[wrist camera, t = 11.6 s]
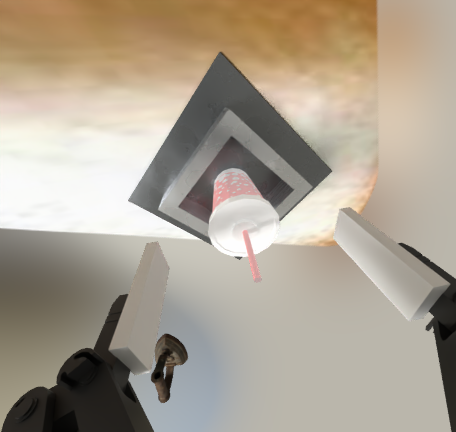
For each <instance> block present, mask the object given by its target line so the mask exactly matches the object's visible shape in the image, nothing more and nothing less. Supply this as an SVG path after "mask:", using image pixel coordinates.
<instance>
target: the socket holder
mask: <svg viewBox="0 0 456 432" xmlns="http://www.w3.org/2000/svg"><path fill="white" fill-rule="evenodd" d="M230 168H236V169H240V170H242V171H244V172H246V174H247V175H248V176H249V178H250V179H251V181H252V182H253V183H254V185H255V186H256V188H257V189H258V191H259V192H260V194H261V195H262V197H263V198H264V199H265V200H267V201H269V203H270V204H271V205H272V207H273V208H274V209H275V211H276V212H277V214H278V215H279V221H281V220H282V219H283V218H284V217H285V216H286V215H287V214H288V213H289V212H290V211H291V210H292V209H293V208H294V207H295V206H296V205H297V204H299V203H300V202H301V201H302V200H303V199H304V198H305V197H306V196H307V195H308V194H309V193H310V192H311V191H312V190H313V189H314V188H315V187H316V186H317V185H318V184H319V183H320V182H322V181H323V180H324V179H325V178H326V177H327V176H328V175H329V174H330V173H331V172H332V171H331V170H330V169H329V168H328V167H327V165H326V164H325V163H324V162H323V161H322V160H321V159H320V158H319V157H318V156H317V155H316V154H315V153H314V152H313V151H312V150H311V148H310V147H309V146H308V145H307V144H306V143H305V142H304V141H303V140H302V139H301V138H300V137H299V136H298V135H297V134H296V133H295V131H294V130H293V129H292V128H291V127H290V126H289V125H288V124H287V123H286V122H285V121H284V120H283V119H282V118H281V117H280V116H279V114H278V113H277V112H276V111H275V110H274V109H273V108H272V107H271V106H270V105H269V104H268V103H267V102H266V101H265V100H264V99H263V97H262V96H261V95H260V94H259V93H258V92H257V91H256V90H255V89H254V88H253V87H252V86H251V85H250V84H249V83H248V82H247V80H246V79H245V78H244V77H243V76H242V75H241V74H240V73H239V72H238V71H237V70H236V69H235V68H234V67H233V66H232V65H231V63H230V62H229V61H228V60H227V59H226V58H225V57H224V56H223V55H222V54H221V53H220V52H219V54H218V55H217V57H216V58H215V60H214V62H213V63H212V65H211V67H210V68H209V70H208V71H207V73H206V75H205V76H204V78H203V80H202V81H201V83H200V84H199V86H198V88H197V89H196V91H195V93H194V94H193V96H192V98H191V99H190V101H189V102H188V104H187V106H186V107H185V109H184V111H183V112H182V114H181V115H180V117H179V119H178V120H177V122H176V124H175V125H174V127H173V128H172V130H171V132H170V133H169V135H168V137H167V138H166V140H165V141H164V143H163V145H162V146H161V148H160V150H159V151H158V153H157V154H156V156H155V158H154V159H153V161H152V163H151V164H150V166H149V168H148V169H147V171H146V172H145V174H144V176H143V177H142V179H141V181H140V182H139V184H138V185H137V187H136V189H135V190H134V192H133V194H132V195H131V197H130V198H129V200H128V201H130V202H132V203H134V204H136V205H138V206H139V207H141V208H143V209H145V210H147V211H149V212H151V213H153V214H155V215H156V216H158V217H160V218H162V219H164V220H166V221H168V222H170V223H171V224H173V225H175V226H177V227H179V228H181V229H183V230H185V231H187V232H188V233H190V234H192V235H194V236H196V237H198V238H200V239H202V240H203V241H206V242H207V243H209V244H211V245H212V242H211V240H210V237H209V235H208V230H209V219H210V216H211V214H212V210H213V195H214V183H215V180H216V178H217V176H218V175H219V174H220V173H221V172H223V171H224V170H227V169H230ZM234 257H235V258H237V259H239V260H240V259H241V258H242V257H240V256H234Z"/></svg>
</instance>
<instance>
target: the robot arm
mask: <svg viewBox="0 0 456 432" xmlns="http://www.w3.org/2000/svg"><path fill="white" fill-rule="evenodd" d="M333 239H334V240H335V241H336V242H337V243H338V244H339V245H340V246H341V248H342V249H343V250H344V251H345V252H346V253H347V254H348V255H349V256H350V257H351V259H353V261H354V262H355V263H356V264H357V265H358V266H359V267H360V268H361V269H362V271H363V272H365V274H366V275H367V276H368V277H369V278H370V279H371V280H372V281H373V282H374V283H375V285H376V286H377V287H378V288H379V289H380V290H381V291H382V292H383V294H384V295H385V296H386V297H387V298H388V299H389V300H390V301H391V302H392V303H393V304H394V306H395V307H396V308H397V309H398V310H399V311H400V312H401V313H402V314H403V315H404V317H405V318H407V320H408V321H412V320H417V319H423V318H424V317H425V316H426V314H427V313H428V312H430V313H431V314H432V315H433V316H434V318H433V319H432V320H431V321H430V323H429V324H428V325H427V326H426V330H427V331H429V330H430V329H431V328H432V326H433V329H434V332H433V333H434V334H435V340H436V346H437V351H438V357H439V362H440V368H441V373H442V380H443V385H444V391H445V397H446V403H447V408H448V414H449V420H450V425H451V431H452V432H456V279H455V278H454V277H452V276H451V275H449V274H448V273H447V272H445V271H444V270H443V269H441V268H440V267H438V266H437V265H436V264H434V263H433V262H430V260H429V259H428V258H426V257H425V256H422V254H421V253H419V252H418V251H416V250H415V249H414V248H412V247H410V246H408V245H406V244H403V243H396V242H395V241H393V240H392V239H391V238H390V237H388V236H387V235H386V234H384V233H383V232H382V231H380V230H379V229H378V228H376V227H375V226H374V225H372V224H371V223H370V222H369V221H367V220H366V219H365V218H363V217H362V216H361V215H359V214H358V213H357V212H356V211H354V210H353V209H352V208H350V207H349V208H343V209H340V210H339V214H338V219H337V223H336V228H335V232H334V237H333ZM168 273H169V266H168V264H167V262H166V259H165V257H164V255H163V253H162V250H161V248H160V246H159V243H158V242H152V243H147V244H146V247H145V250H144V253H143V255H142V258H141V261H140V264H139V267H138V269H137V272H136V275H135V277H134V281H133V283H132V286H131V289H130V291H129V294H125V295H120V296H119V297H118V298H117V299H116V301H115V302H114V303H113V305H112V307H111V309H110V312H109V315H108V316H107V319H106V321H105V324H104V326H103V328H102V331H101V333H100V335H99V338H98V340H97V342H96V345H95V347H94V350H93V349H91V348H85V349H81V350H79V351H78V352H76V353H75V354H73V355H72V356H71V357H70V358H69V359H67V361H66V362H65V363H64V365H63V366H62V367H61V369H60V371H59V373H58V376H57V384H58V385H56V386H54V387H52V388H50V389H47V388H45V387H36V388H34V389H32V390H30V391H28V392H27V393H26V394H24V395H23V396H22V397H21V398H20V399H19V400H18V401H17V402H16V403H15V404H14V405H13V407H12V408H11V410H10V411H9V413H8V414H7V417H6V419H5V421H4V424H3V427H2V431H1V432H154V430H153V429H152V426H151V424H150V422H149V420H148V418H147V416H146V414H145V412H144V410H143V408H142V406H141V404H140V402H139V400H138V398H137V396H136V394H135V392H134V390H133V388H132V386H131V384H130V382H129V381H128V378H129V374H130V371H131V372H132V373H133V374H134V375H139V374H144V373H149V372H151V368H152V362H153V357H154V351H155V346H156V340H157V334H158V329H159V324H160V318H161V312H162V306H163V301H164V295H165V290H166V285H167V279H168Z"/></svg>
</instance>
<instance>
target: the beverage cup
mask: <svg viewBox="0 0 456 432" xmlns="http://www.w3.org/2000/svg"><path fill="white" fill-rule="evenodd" d="M279 229H280V221H279V215H278V214H277V212H276V211H275V209H274V208H273V207H272V205H271V204H270V203H269V201H267V200H265V199H264V198H263V197H262V195H261V194H260V192H259V191H258V189H257V188H256V186H255V185H254V183H253V182H252V181H251V179H250V178H249V176H248V175H247V174H246V172H244V171H242V170H240V169H236V168H230V169H227V170H224V171H223V172H221V173H220V174H219V175H218V176H217V178H216V180H215V183H214V195H213V210H212V214H211V216H210V219H209V230H208V235H209V237H210V240H211V242H212V245H213V246H215V247H216V248H217V249H218V250H219V251H220V252H222V253H225V254H228V255H230V256H240V257H246V256H248V258H249V262H250V266H251V270H252V274H253V278H254V281H255V282H260V281H261V280H262V279H261V276H260V272H259V269H258V265H257V262H256V258H255V255H254V254H257V253H259V252H261V251H262V250H264V249H266V248H267V247H269V246H270V244H272V242H273V241H274V240H275V239H276V238H277V235H278V232H279Z"/></svg>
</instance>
